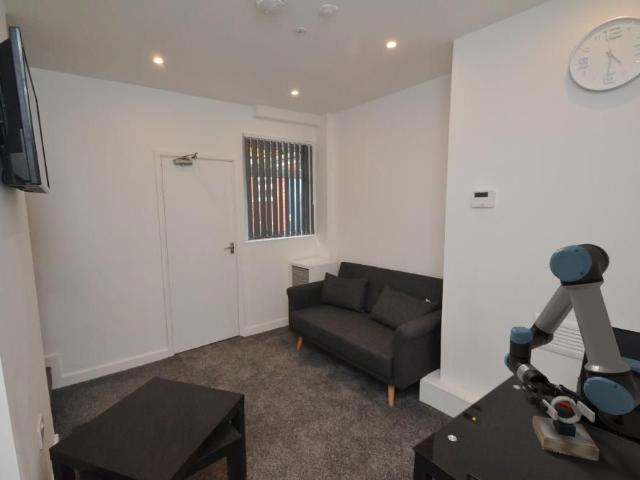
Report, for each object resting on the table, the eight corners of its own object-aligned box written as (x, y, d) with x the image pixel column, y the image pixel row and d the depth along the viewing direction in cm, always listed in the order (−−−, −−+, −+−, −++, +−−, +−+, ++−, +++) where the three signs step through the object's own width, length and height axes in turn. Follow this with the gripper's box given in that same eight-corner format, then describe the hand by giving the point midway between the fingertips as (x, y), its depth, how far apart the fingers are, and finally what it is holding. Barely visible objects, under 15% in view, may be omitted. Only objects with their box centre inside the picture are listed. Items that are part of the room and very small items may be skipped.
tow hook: (549, 398, 129) (568, 411, 120) (551, 366, 128) (569, 377, 119) (570, 397, 129) (590, 411, 120) (571, 366, 129) (591, 377, 119)
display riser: (581, 434, 108) (582, 423, 107) (598, 461, 96) (599, 448, 96) (532, 425, 112) (533, 414, 112) (543, 449, 101) (544, 437, 101)
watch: (582, 439, 100) (586, 406, 99) (552, 432, 103) (555, 400, 101) (575, 427, 105) (578, 395, 104) (546, 421, 108) (549, 390, 107)
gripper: (564, 389, 121) (613, 430, 99) (501, 387, 122) (535, 426, 100) (565, 370, 120) (615, 407, 98) (502, 368, 122) (536, 403, 100)
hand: (574, 417), depth 99 cm, fingers open, 10 cm apart
